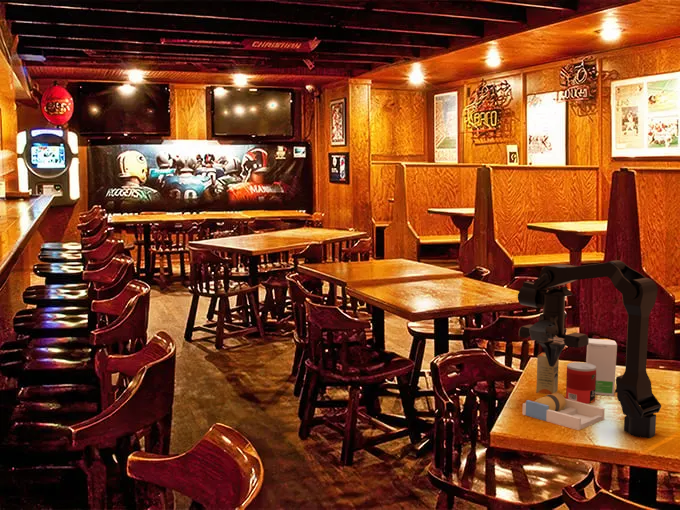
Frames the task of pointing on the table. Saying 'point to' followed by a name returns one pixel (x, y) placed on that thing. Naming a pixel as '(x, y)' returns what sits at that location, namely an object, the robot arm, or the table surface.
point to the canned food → (581, 382)
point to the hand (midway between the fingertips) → (551, 366)
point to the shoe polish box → (546, 375)
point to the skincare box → (603, 364)
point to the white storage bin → (566, 414)
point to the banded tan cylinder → (553, 401)
